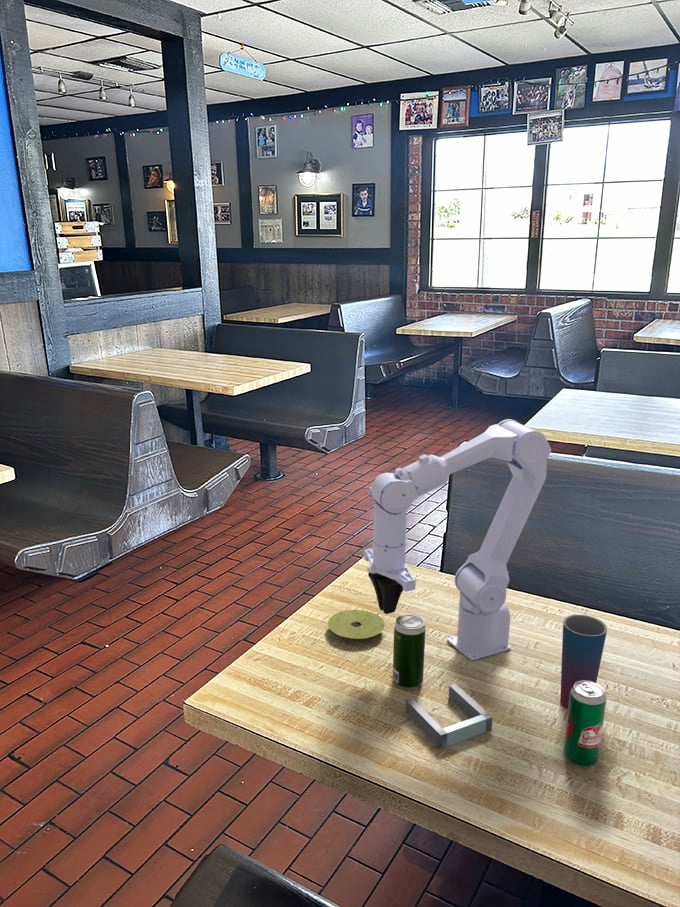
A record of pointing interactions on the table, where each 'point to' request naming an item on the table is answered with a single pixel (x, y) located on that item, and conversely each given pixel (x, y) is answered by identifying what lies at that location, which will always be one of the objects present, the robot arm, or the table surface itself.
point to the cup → (580, 652)
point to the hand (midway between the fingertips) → (387, 610)
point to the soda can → (584, 723)
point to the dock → (457, 732)
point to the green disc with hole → (356, 624)
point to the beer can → (408, 652)
